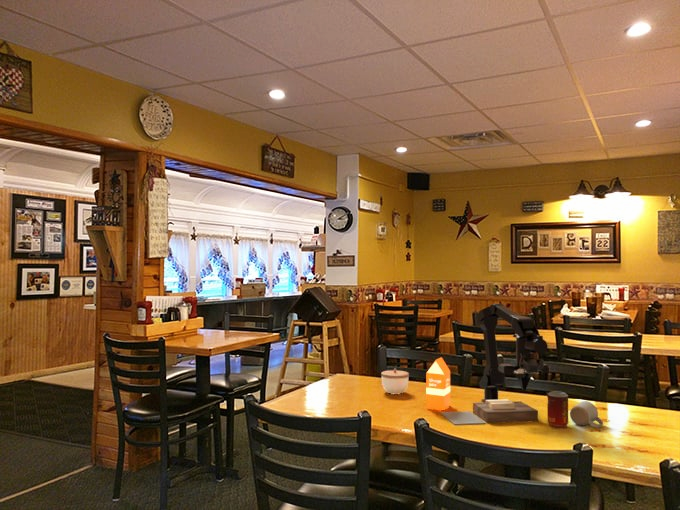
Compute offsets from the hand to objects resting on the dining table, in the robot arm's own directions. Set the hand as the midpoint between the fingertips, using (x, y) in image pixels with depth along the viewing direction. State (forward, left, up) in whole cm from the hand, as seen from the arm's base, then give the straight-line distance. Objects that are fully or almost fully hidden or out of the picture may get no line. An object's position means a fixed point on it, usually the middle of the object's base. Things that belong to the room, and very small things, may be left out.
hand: (523, 390), depth 209 cm
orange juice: (-17, -29, -10) cm, 35 cm away
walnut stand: (0, -8, -10) cm, 13 cm away
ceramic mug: (+13, +18, -10) cm, 25 cm away
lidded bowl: (-44, -41, -10) cm, 61 cm away
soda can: (+14, +6, -10) cm, 18 cm away
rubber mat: (0, -25, -10) cm, 27 cm away
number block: (0, -10, -6) cm, 12 cm away
